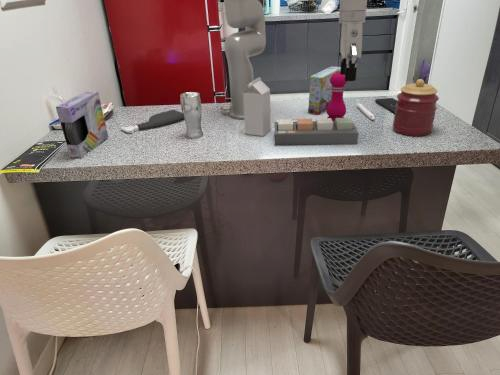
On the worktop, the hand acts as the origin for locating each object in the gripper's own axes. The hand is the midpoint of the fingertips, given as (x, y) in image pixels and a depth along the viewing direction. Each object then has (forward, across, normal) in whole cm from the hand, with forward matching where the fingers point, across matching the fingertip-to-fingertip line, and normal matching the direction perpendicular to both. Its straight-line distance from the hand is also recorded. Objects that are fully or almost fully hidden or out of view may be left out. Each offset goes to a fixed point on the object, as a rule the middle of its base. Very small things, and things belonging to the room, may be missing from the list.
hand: (347, 77), depth 117 cm
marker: (+21, +25, -13) cm, 35 cm away
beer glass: (+20, +5, +52) cm, 56 cm away
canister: (+21, +6, -25) cm, 33 cm away
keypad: (+20, 0, +10) cm, 23 cm away
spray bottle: (+21, +18, +71) cm, 76 cm away
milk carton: (+20, +7, +29) cm, 36 cm away
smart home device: (+21, +32, -26) cm, 46 cm away
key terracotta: (+18, 0, +13) cm, 22 cm away
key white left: (+18, 0, +20) cm, 27 cm away
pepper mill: (+20, +16, 0) cm, 26 cm away
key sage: (+18, 0, 0) cm, 18 cm away
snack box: (+20, +35, +2) cm, 41 cm away
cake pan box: (+20, -5, +87) cm, 90 cm away
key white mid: (+18, 0, +7) cm, 19 cm away
